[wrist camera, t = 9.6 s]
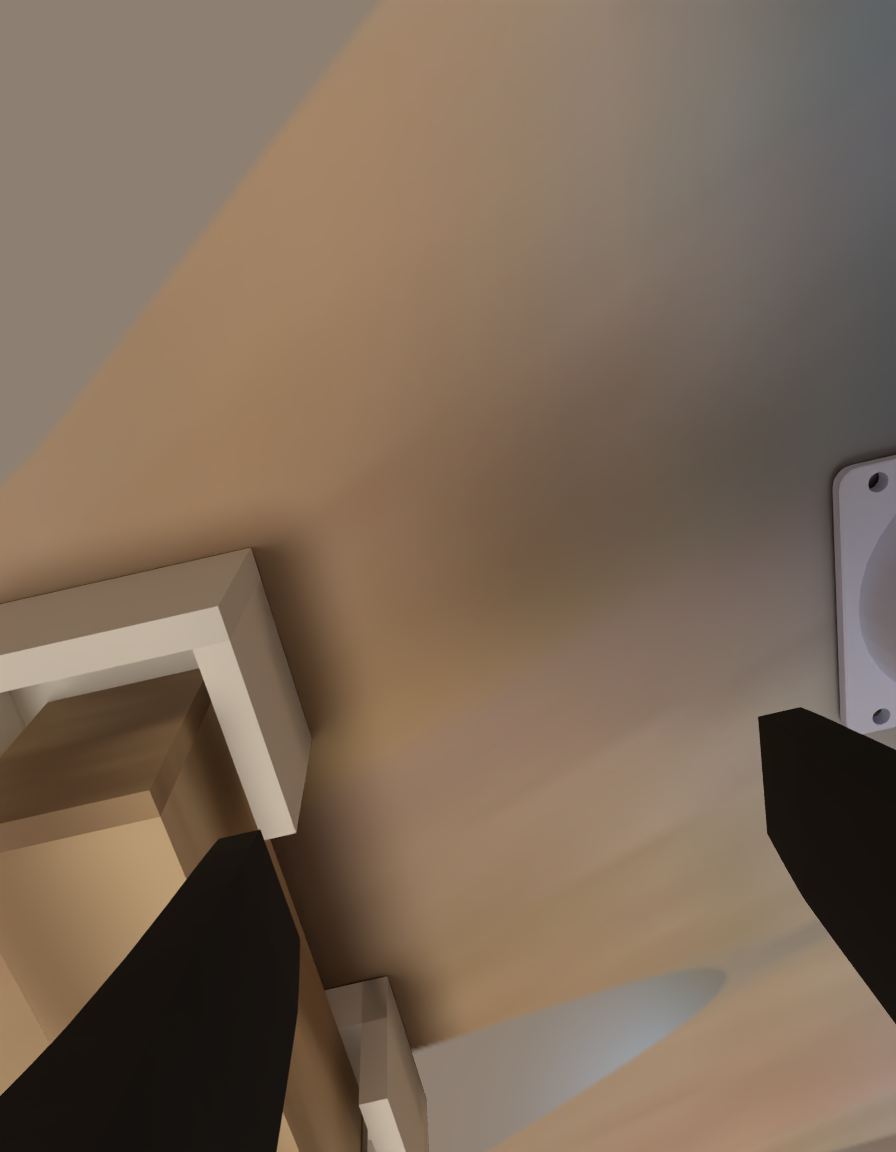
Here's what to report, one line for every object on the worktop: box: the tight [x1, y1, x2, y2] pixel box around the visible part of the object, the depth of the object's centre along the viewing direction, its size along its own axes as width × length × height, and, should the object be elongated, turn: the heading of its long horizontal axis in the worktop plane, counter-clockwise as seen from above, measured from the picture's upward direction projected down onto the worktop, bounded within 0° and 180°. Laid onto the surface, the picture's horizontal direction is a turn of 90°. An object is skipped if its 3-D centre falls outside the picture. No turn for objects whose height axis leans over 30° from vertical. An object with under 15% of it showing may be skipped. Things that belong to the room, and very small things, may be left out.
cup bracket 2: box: [324, 976, 429, 1152], centre depth 23 cm, size 7×6×4 cm
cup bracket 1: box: [0, 548, 312, 840], centre depth 18 cm, size 7×6×4 cm
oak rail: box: [0, 668, 368, 1152], centre depth 19 cm, size 4×16×5 cm, turn 12°
